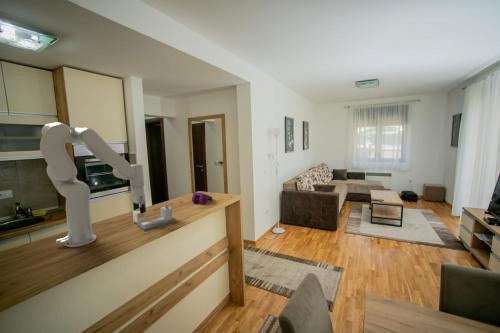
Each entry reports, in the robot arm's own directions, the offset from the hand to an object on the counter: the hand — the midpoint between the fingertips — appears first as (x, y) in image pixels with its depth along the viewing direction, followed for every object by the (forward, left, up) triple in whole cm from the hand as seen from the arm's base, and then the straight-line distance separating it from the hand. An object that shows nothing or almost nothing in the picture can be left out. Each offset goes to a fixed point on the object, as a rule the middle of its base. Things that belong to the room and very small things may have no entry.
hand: (139, 210), depth 136 cm
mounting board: (+6, -10, -8) cm, 14 cm away
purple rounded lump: (+54, +8, -8) cm, 55 cm away
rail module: (-1, 0, -8) cm, 8 cm away
